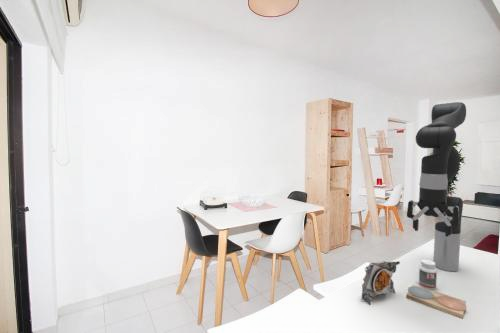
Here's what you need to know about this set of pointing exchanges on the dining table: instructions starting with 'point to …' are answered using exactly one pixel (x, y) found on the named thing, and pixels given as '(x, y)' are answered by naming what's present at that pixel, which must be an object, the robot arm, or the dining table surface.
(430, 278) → the pill bottle
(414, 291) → the grey pad
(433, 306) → the board
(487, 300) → the dining table surface
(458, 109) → the robot arm
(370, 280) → the meal
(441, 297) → the terracotta pad
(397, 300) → the dining table surface
